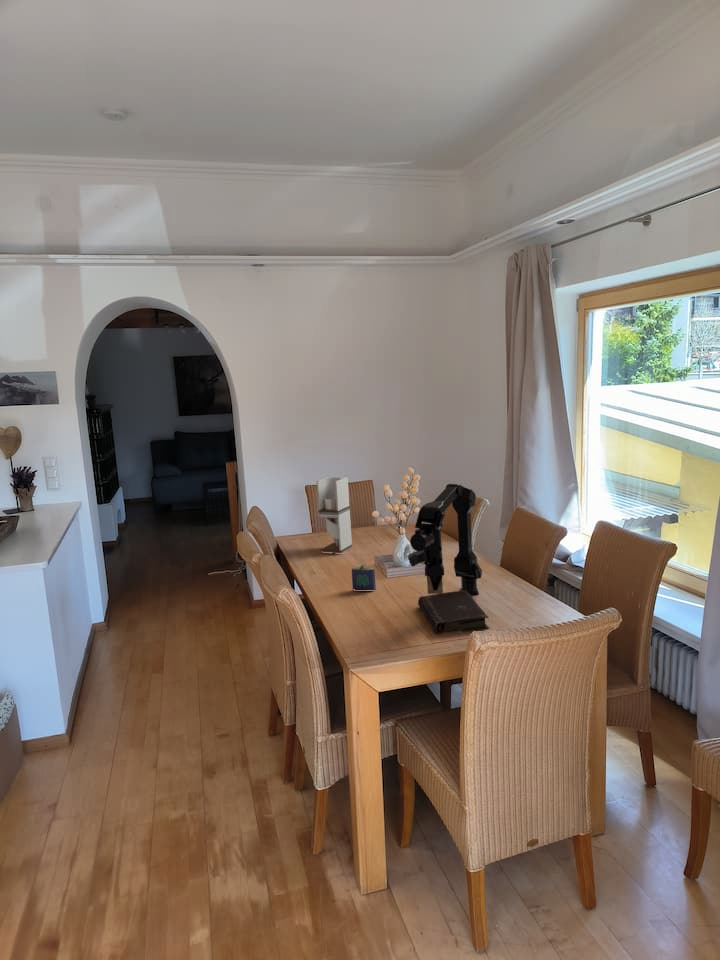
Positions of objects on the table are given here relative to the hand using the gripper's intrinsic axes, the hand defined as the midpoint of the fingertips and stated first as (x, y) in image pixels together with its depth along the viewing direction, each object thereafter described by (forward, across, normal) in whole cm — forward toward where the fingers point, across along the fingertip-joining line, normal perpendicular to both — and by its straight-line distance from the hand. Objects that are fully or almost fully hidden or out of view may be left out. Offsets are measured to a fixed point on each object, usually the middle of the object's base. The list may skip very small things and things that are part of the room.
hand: (435, 587), depth 214 cm
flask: (+11, -29, -27) cm, 41 cm away
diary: (+11, 0, +6) cm, 13 cm away
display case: (+12, -87, -45) cm, 99 cm away
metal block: (+1, 0, 0) cm, 1 cm away
